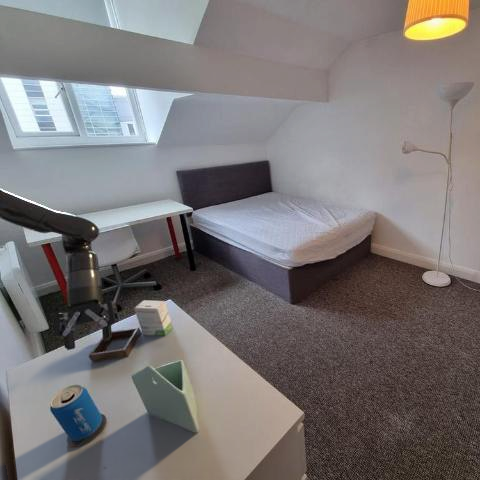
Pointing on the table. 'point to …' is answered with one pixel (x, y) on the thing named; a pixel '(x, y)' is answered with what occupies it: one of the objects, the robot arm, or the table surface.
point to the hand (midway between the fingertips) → (89, 344)
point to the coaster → (91, 436)
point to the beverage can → (76, 412)
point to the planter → (168, 394)
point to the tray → (102, 355)
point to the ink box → (153, 317)
